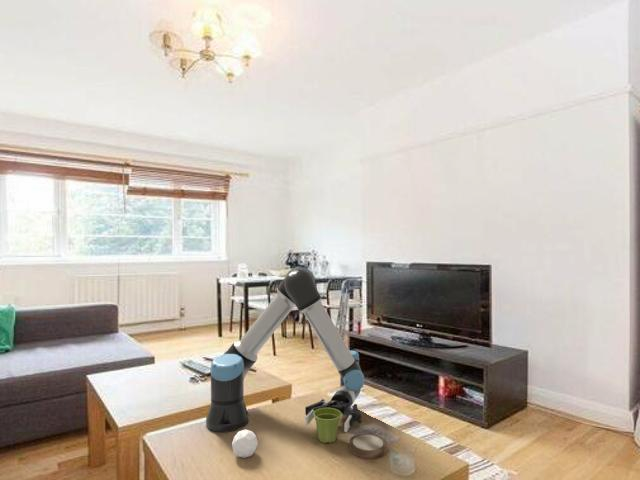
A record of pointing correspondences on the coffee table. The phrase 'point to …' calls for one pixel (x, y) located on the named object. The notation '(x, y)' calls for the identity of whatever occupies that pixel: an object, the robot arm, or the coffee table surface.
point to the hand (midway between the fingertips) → (325, 424)
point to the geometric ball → (244, 443)
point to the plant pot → (327, 424)
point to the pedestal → (368, 446)
